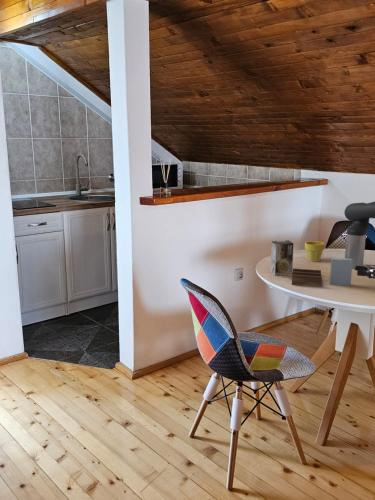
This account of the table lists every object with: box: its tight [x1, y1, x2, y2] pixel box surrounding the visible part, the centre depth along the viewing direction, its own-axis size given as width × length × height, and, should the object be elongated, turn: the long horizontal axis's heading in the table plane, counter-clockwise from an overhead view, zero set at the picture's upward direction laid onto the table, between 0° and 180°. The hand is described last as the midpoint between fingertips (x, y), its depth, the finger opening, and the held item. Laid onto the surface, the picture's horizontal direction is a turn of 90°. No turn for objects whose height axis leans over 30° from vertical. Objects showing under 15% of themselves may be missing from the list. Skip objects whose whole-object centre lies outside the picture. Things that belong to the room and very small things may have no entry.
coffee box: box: [270, 239, 294, 277], centre depth 231 cm, size 9×6×16 cm
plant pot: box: [304, 240, 326, 263], centre depth 257 cm, size 10×10×10 cm
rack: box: [291, 268, 323, 287], centre depth 219 cm, size 11×13×4 cm
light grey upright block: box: [329, 257, 353, 287], centre depth 214 cm, size 3×9×12 cm, turn 76°
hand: (356, 270), depth 213 cm, fingers open, 8 cm apart
